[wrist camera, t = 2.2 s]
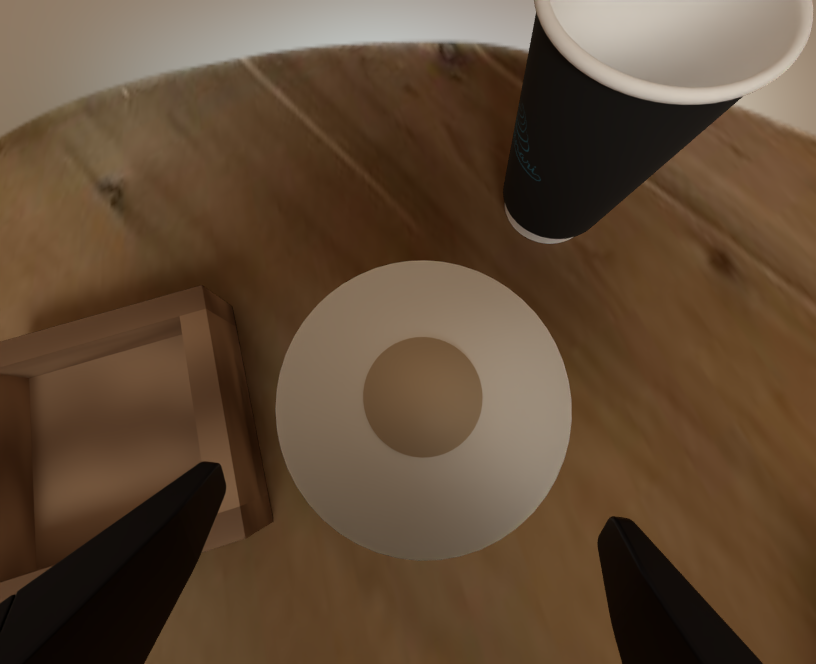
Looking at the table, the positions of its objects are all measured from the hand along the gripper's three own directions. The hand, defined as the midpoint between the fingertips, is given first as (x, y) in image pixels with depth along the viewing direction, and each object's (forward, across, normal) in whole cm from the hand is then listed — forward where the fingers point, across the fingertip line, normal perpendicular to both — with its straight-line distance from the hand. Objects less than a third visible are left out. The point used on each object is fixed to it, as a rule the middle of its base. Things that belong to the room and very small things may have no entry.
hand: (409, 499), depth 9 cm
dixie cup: (+18, -6, -3) cm, 19 cm away
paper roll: (+8, 0, +5) cm, 10 cm away
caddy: (+6, +13, +7) cm, 16 cm away
